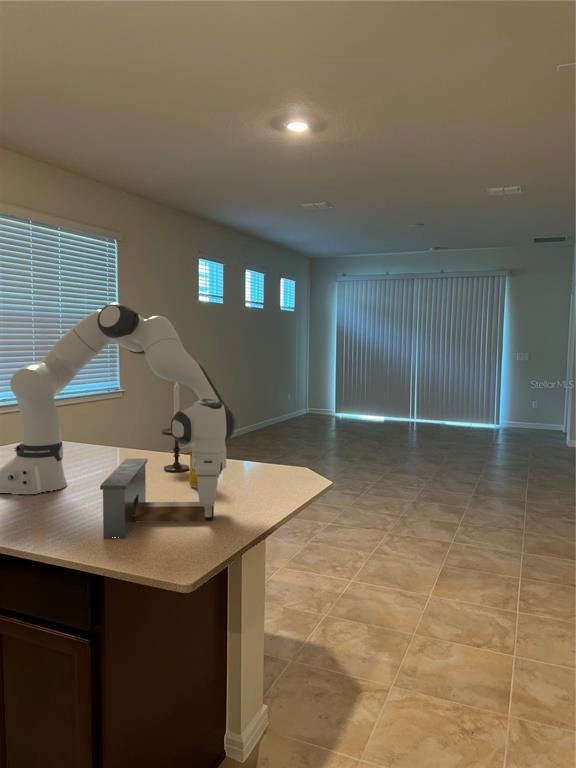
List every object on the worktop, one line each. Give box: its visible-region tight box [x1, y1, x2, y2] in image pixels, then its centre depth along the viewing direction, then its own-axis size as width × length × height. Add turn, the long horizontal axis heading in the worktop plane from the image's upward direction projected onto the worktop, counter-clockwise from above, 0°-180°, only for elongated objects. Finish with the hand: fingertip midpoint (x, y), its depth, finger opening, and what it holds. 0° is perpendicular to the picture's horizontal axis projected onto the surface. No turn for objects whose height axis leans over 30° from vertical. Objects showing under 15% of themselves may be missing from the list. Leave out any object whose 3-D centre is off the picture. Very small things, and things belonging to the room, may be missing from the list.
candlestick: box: [160, 382, 190, 474], centre depth 198 cm, size 11×11×35 cm
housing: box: [99, 458, 148, 539], centre depth 143 cm, size 6×29×13 cm, turn 5°
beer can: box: [189, 444, 198, 489], centre depth 177 cm, size 6×6×15 cm
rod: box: [134, 501, 215, 522], centre depth 145 cm, size 20×4×4 cm, turn 95°
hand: (209, 512), depth 146 cm, fingers open, 5 cm apart
